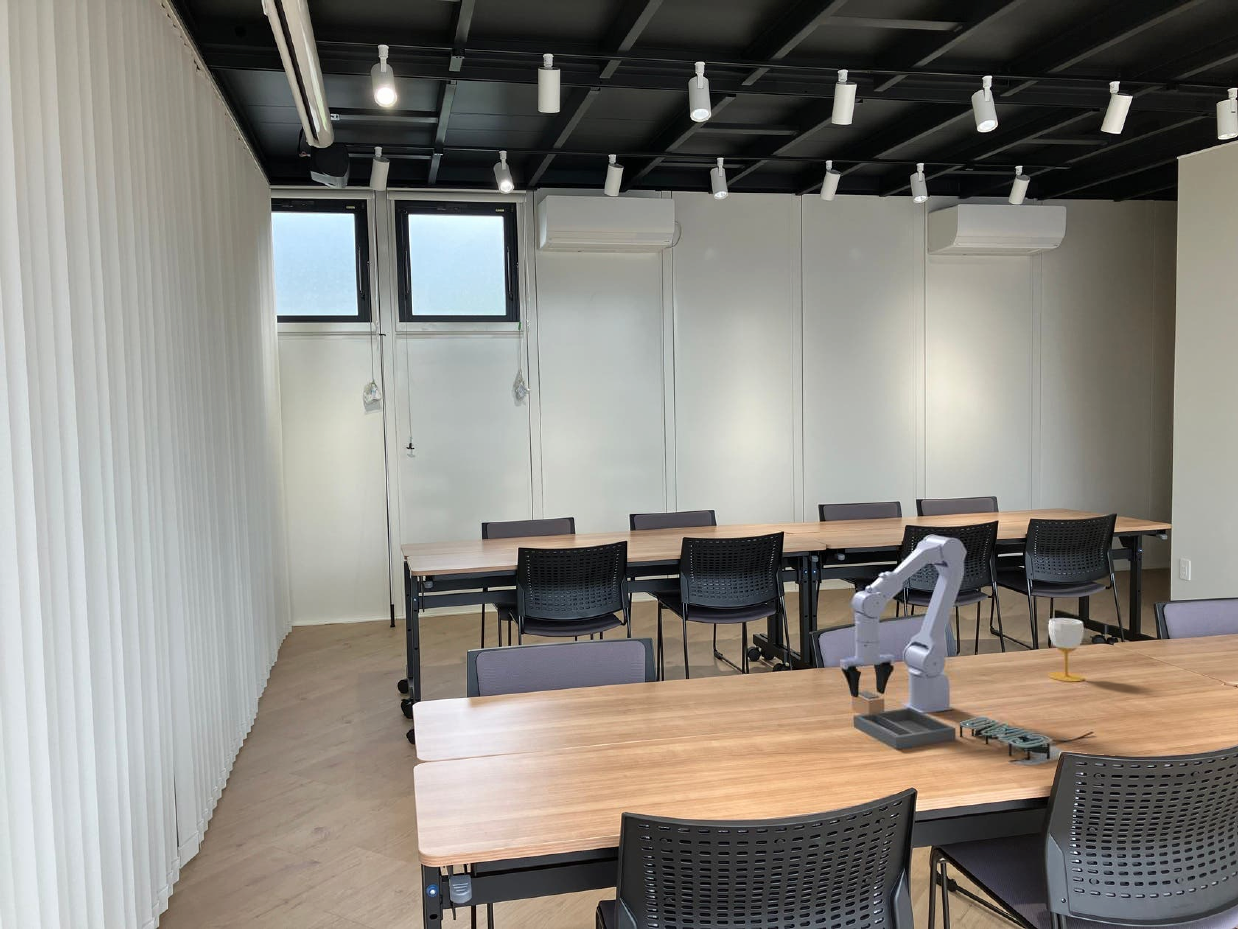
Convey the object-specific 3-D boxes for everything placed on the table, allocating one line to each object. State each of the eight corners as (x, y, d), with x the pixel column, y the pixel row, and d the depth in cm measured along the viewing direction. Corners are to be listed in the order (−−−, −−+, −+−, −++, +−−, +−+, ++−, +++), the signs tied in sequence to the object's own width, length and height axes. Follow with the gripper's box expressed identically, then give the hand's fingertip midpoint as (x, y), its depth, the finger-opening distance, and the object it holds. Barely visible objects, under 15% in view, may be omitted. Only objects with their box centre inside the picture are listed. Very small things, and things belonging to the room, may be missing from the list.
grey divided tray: (909, 719, 207) (909, 707, 207) (955, 741, 192) (955, 728, 192) (853, 728, 202) (853, 715, 202) (896, 751, 187) (896, 737, 187)
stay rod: (866, 729, 201) (862, 723, 201) (872, 724, 201) (869, 718, 201) (898, 747, 190) (894, 739, 189) (905, 741, 190) (901, 734, 190)
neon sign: (1115, 726, 189) (1025, 750, 176) (1115, 745, 189) (1025, 770, 176) (1032, 701, 208) (945, 720, 195) (1032, 718, 208) (945, 739, 195)
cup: (1090, 681, 235) (1090, 624, 235) (1058, 682, 235) (1057, 625, 235) (1073, 672, 244) (1073, 617, 244) (1042, 673, 245) (1041, 618, 244)
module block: (867, 710, 216) (867, 689, 216) (884, 718, 209) (884, 697, 209) (852, 712, 214) (852, 691, 214) (868, 720, 208) (868, 699, 207)
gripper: (882, 634, 217) (882, 687, 218) (833, 639, 213) (833, 693, 213) (899, 640, 211) (899, 694, 211) (849, 645, 206) (849, 701, 206)
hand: (867, 694), depth 211 cm, fingers open, 7 cm apart
